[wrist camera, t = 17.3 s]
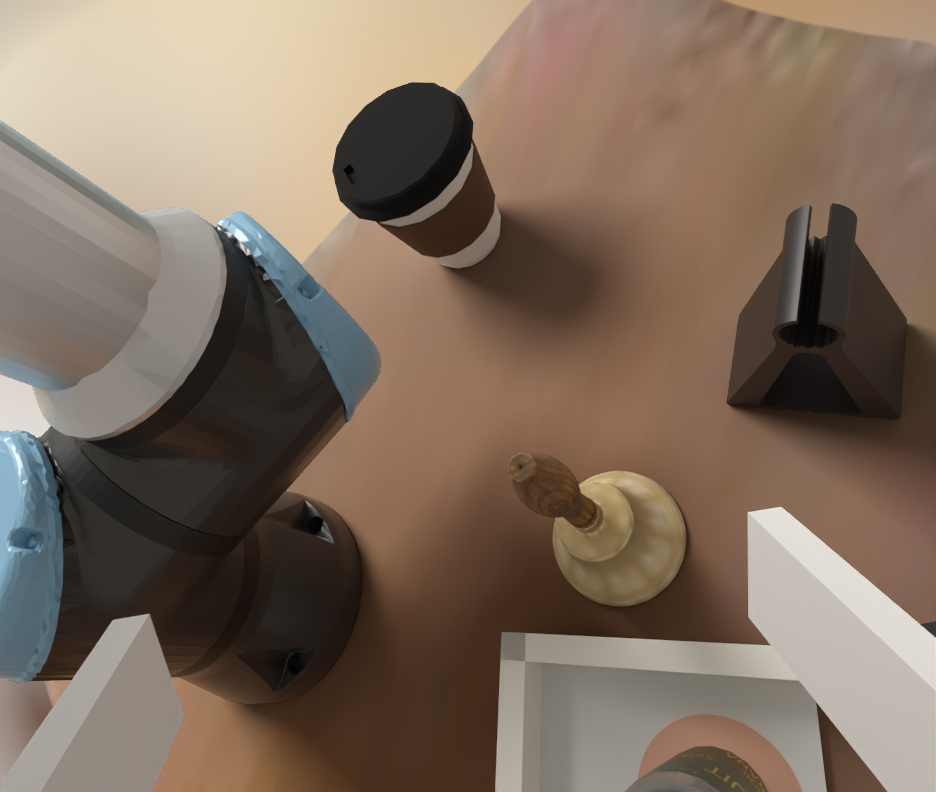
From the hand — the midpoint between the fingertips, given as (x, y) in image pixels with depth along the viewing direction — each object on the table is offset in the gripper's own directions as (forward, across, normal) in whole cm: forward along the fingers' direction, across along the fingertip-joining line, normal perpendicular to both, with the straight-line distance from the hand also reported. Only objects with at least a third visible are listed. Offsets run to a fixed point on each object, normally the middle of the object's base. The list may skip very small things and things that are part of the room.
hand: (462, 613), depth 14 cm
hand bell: (+23, +10, -13) cm, 28 cm away
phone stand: (+24, +23, -4) cm, 33 cm away
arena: (+14, +9, -23) cm, 28 cm away
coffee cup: (+44, +5, +4) cm, 44 cm away
